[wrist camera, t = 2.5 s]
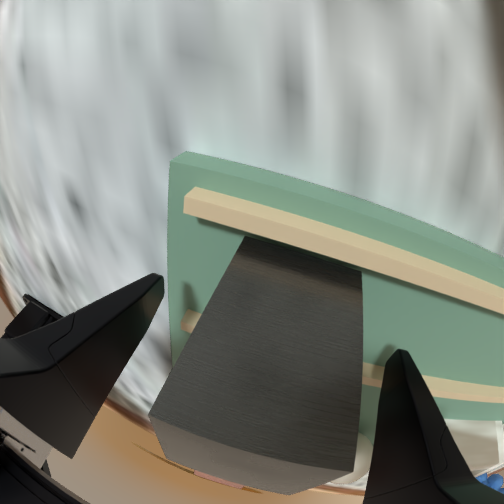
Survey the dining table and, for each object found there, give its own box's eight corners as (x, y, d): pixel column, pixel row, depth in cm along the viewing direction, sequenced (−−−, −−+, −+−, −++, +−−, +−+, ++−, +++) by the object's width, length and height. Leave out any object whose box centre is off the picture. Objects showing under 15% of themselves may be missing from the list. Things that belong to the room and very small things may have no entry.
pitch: (455, 442, 18) (455, 460, 16) (181, 386, 21) (171, 407, 19) (598, 313, 7) (608, 334, 6) (186, 151, 10) (157, 168, 8)
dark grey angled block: (267, 425, 18) (242, 506, 13) (212, 408, 18) (180, 486, 13) (361, 271, 9) (353, 472, 4) (244, 235, 10) (147, 414, 5)
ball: (359, 444, 18) (353, 490, 14) (311, 436, 18) (301, 483, 15) (386, 426, 15) (382, 480, 12) (333, 417, 16) (323, 474, 13)
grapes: (515, 450, 19) (515, 523, 9) (507, 461, 21) (506, 525, 12) (441, 474, 24) (434, 547, 15) (441, 481, 27) (435, 545, 17)
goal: (441, 446, 19) (440, 491, 15) (384, 443, 19) (379, 493, 15) (499, 408, 14) (506, 462, 10) (442, 403, 15) (445, 469, 11)
